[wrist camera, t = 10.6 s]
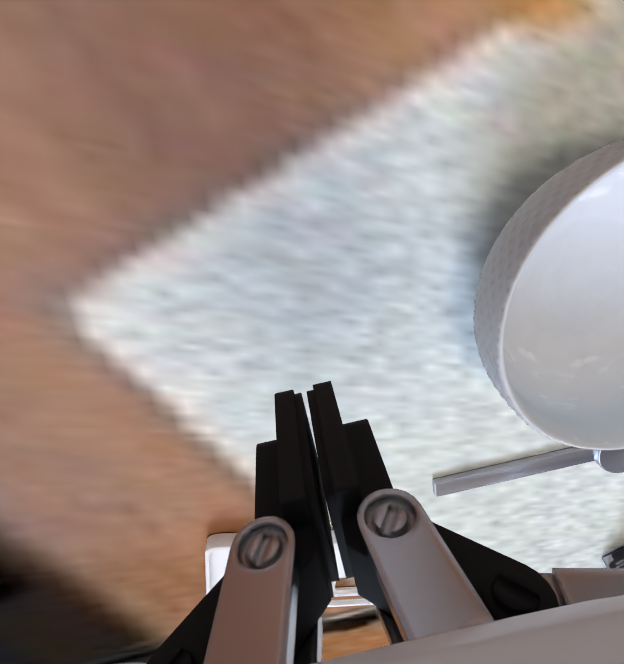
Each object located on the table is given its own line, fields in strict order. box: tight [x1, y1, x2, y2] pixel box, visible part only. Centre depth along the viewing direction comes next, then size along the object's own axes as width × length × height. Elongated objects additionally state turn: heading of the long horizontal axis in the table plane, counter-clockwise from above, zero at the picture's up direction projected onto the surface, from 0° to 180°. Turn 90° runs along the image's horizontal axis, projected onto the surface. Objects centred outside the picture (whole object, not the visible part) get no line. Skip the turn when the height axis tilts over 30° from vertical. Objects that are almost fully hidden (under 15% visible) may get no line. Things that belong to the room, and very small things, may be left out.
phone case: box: [205, 530, 374, 607], centre depth 33 cm, size 7×1×15 cm
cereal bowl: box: [474, 140, 624, 450], centre depth 23 cm, size 17×17×7 cm
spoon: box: [433, 447, 624, 497], centre depth 32 cm, size 5×17×1 cm, turn 101°
